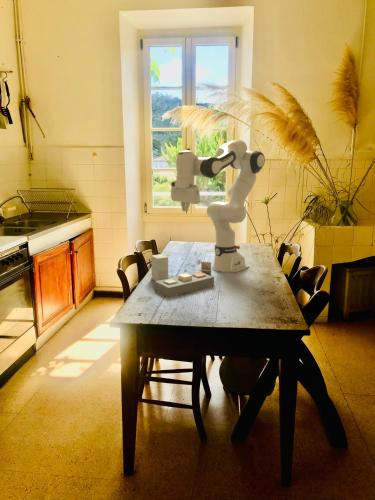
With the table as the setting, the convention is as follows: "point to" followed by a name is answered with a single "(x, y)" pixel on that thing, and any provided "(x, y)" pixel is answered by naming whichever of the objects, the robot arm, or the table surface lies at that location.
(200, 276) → the rust button
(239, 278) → the table surface
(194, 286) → the console
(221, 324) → the table surface
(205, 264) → the architectural model
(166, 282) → the sage button
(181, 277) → the cream button
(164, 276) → the small box
